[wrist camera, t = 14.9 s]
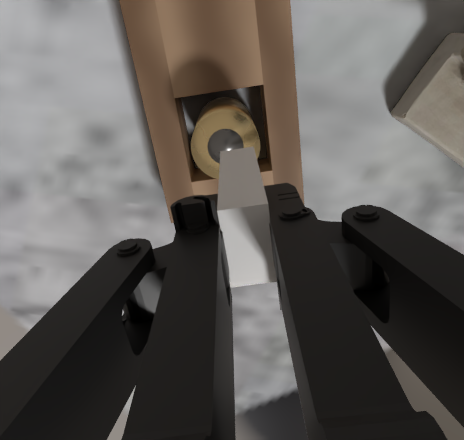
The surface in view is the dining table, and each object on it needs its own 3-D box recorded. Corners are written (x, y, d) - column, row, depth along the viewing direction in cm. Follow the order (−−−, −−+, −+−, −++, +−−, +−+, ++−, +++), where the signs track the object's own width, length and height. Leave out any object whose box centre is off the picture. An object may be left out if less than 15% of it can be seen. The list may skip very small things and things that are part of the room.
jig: (275, -89, 28) (282, -108, 25) (296, 188, 37) (304, 204, 34) (116, -61, 29) (101, -77, 25) (176, 205, 38) (171, 222, 34)
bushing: (249, 93, 34) (256, 106, 26) (255, 148, 36) (263, 175, 28) (193, 101, 34) (185, 116, 26) (202, 155, 36) (197, 184, 29)
